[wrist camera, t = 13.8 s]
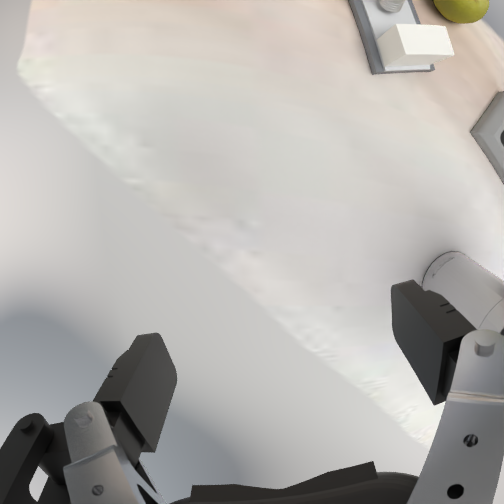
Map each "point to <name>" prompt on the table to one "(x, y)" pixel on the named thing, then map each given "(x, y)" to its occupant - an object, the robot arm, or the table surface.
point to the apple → (462, 9)
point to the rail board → (383, 31)
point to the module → (414, 45)
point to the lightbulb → (392, 5)
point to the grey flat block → (492, 133)
